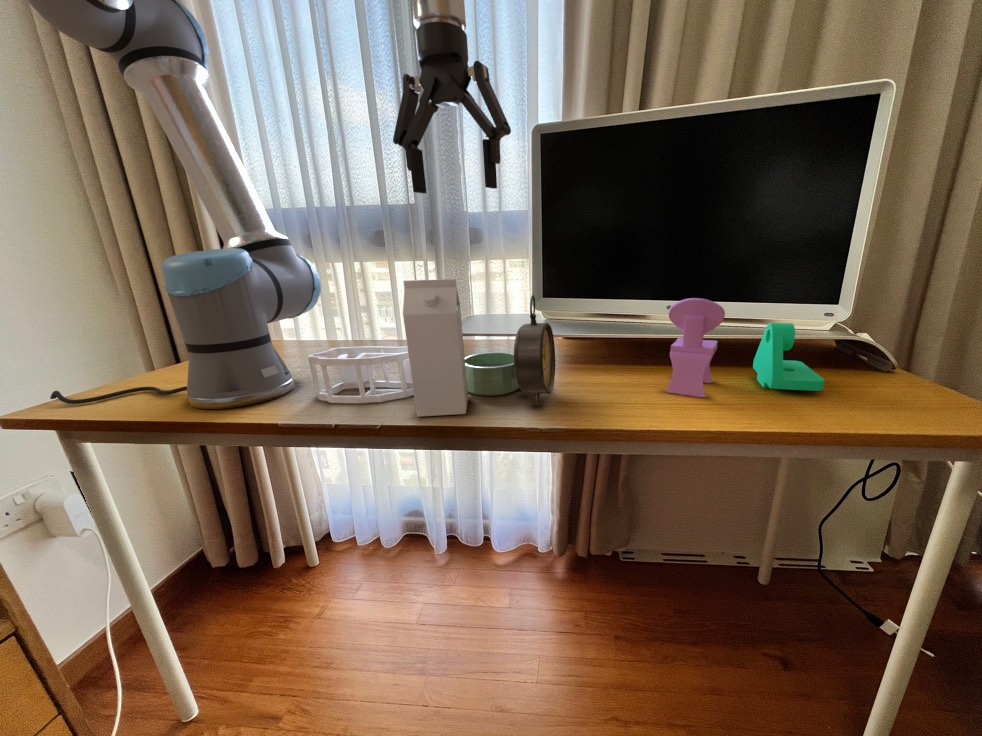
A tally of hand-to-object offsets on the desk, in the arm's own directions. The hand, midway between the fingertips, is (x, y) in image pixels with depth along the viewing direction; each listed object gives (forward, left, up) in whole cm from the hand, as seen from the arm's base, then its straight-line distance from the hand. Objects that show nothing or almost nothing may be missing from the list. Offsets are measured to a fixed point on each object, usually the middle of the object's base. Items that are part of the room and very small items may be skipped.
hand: (454, 190), depth 71 cm
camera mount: (+55, +10, -32) cm, 64 cm away
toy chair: (+40, +4, -32) cm, 51 cm away
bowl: (+8, -6, -32) cm, 33 cm away
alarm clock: (+17, -9, -32) cm, 37 cm away
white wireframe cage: (-9, -14, -32) cm, 36 cm away
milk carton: (+5, -17, -32) cm, 36 cm away
